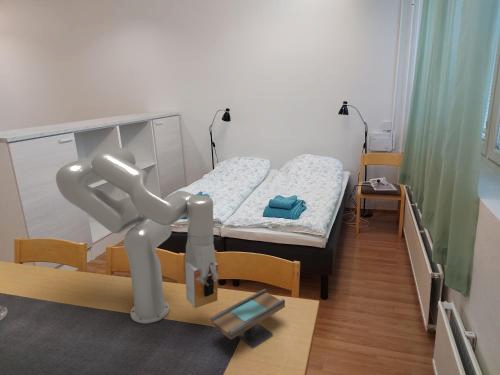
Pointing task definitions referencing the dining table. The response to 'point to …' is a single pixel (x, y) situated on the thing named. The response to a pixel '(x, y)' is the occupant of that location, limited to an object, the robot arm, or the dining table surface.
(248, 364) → the dining table surface
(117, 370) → the dining table surface
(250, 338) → the pivot stand
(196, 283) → the small box
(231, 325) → the brown flat channel
